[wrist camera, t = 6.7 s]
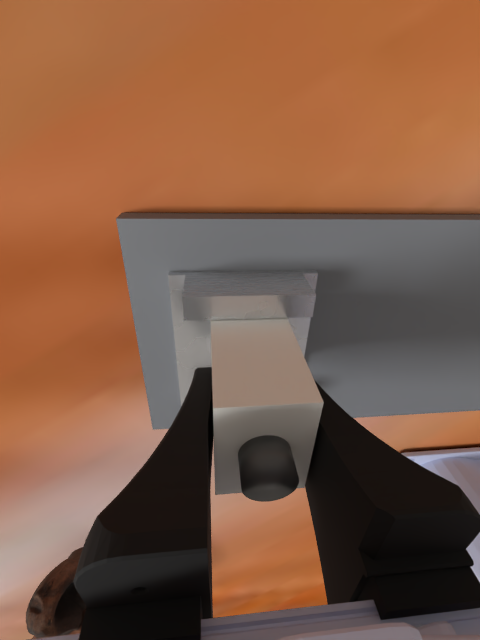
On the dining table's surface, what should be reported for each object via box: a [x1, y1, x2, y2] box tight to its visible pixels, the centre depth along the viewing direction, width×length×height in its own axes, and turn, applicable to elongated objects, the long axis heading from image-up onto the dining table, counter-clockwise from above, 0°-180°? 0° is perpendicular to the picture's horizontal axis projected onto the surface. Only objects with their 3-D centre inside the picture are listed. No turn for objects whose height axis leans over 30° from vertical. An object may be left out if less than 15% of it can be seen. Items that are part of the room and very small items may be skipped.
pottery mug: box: [26, 547, 87, 639], centre depth 25 cm, size 12×9×8 cm
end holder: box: [168, 270, 318, 406], centre depth 15 cm, size 6×8×2 cm
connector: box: [210, 318, 324, 501], centre depth 11 cm, size 3×4×6 cm
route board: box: [116, 213, 480, 429], centre depth 17 cm, size 22×12×1 cm, turn 88°
